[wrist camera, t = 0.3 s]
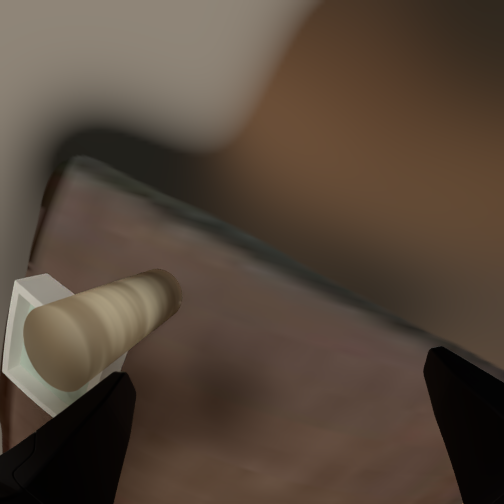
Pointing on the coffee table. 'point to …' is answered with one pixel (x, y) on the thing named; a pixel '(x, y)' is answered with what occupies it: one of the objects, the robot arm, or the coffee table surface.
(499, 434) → the robot arm
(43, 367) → the peg
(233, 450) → the coffee table surface
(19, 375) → the bore box
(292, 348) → the coffee table surface
